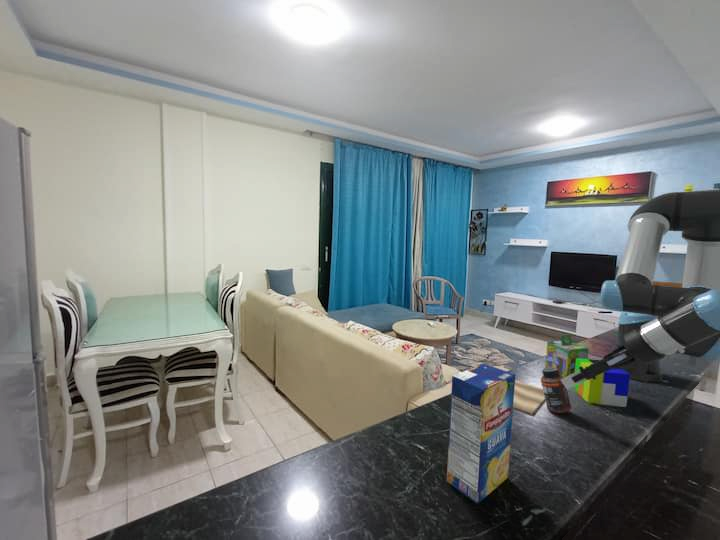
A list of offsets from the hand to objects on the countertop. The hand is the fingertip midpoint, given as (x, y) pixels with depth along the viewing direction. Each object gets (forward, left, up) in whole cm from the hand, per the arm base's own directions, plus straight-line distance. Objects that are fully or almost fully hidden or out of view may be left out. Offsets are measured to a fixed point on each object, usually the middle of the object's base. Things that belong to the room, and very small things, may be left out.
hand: (564, 383), depth 89 cm
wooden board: (-3, -12, -9) cm, 15 cm away
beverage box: (+39, -6, -9) cm, 41 cm away
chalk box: (-30, -6, -9) cm, 32 cm away
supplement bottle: (-2, -1, -9) cm, 9 cm away
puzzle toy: (-21, +5, -9) cm, 23 cm away
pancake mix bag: (-116, +17, -9) cm, 117 cm away
